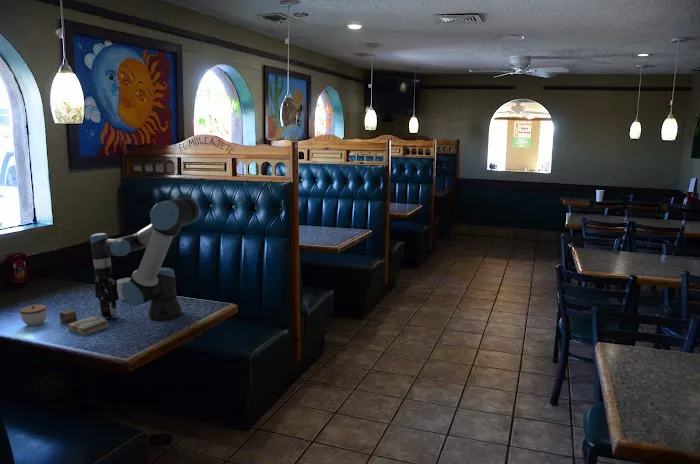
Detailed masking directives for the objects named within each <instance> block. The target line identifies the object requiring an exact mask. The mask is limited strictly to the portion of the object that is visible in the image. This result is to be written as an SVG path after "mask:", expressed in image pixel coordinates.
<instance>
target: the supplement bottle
mask: <svg viewBox="0 0 700 464" xmlns="http://www.w3.org/2000/svg"><path fill="white" fill-rule="evenodd" d="M101 296H102V297H101V298H100V302H99V306H100V308H99V309H100V316H101V318H103V319H105V318H107V319H108V318H113V317H115V316H116V315H117V314H115V315H111V312H110V304H109V302H110V299H109V296H108V293H107V290H106V289H105V290H104V291H102V292H101Z"/></svg>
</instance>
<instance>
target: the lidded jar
mask: <svg viewBox="0 0 700 464" xmlns="http://www.w3.org/2000/svg"><path fill="white" fill-rule="evenodd" d="M47 311H48V310H47V305H45V304H31V305H28V306H25V307H23V308H21V309H19V313H20V316H21V317H20V318H21V319H22V322H23V323H24V324H25V325H27V326H28V327H37V326H41V325H43V324H44V323H45V320H46V319H47V315H48V312H47Z"/></svg>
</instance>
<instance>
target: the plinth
mask: <svg viewBox="0 0 700 464" xmlns="http://www.w3.org/2000/svg"><path fill="white" fill-rule="evenodd" d="M67 327H68V328H67V329H68V331H69V332H72V333H75V334H79V335H82V336H86V335H90V334H91V333H95V332H97V331H98V332H99V331H100V330H103V329H106V328H108V327H110V325H109V320H108V319H105V318H102V317H101V318H100V317H96V316H94V315H91V316H88V317H84V318H82V319H79V320H77V321H75V322H72V323H69V324H67Z"/></svg>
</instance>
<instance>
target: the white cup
mask: <svg viewBox="0 0 700 464" xmlns="http://www.w3.org/2000/svg"><path fill="white" fill-rule="evenodd" d="M130 279H131V277H125V278H119V279H117V280H116V288H117V293H118V298H119V300H121V301H126V300H125V299H124V297H123V294H122V285H123V284H124V283H125V282H126V281H129V280H130Z"/></svg>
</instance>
